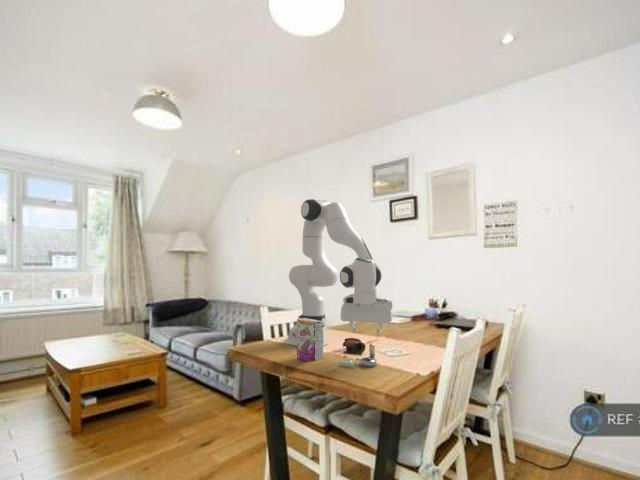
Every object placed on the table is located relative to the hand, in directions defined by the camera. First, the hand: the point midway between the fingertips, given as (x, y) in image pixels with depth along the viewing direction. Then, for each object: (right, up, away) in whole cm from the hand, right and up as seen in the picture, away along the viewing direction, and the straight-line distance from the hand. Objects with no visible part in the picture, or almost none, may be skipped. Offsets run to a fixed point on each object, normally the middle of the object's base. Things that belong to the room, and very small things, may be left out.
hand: (366, 332), depth 130 cm
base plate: (0, -11, -8) cm, 14 cm away
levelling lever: (0, -10, -6) cm, 11 cm away
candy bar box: (-23, -13, +3) cm, 26 cm away
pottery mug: (-4, -13, +11) cm, 17 cm away
